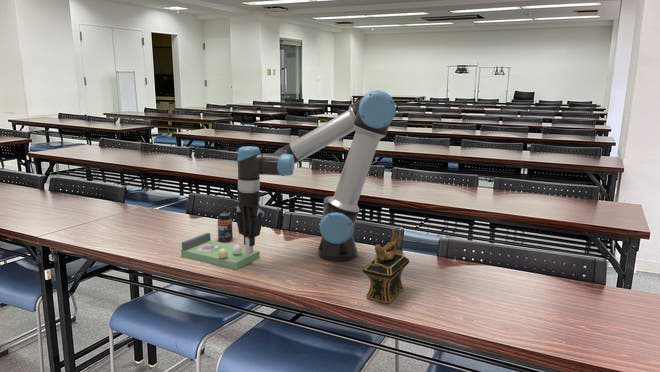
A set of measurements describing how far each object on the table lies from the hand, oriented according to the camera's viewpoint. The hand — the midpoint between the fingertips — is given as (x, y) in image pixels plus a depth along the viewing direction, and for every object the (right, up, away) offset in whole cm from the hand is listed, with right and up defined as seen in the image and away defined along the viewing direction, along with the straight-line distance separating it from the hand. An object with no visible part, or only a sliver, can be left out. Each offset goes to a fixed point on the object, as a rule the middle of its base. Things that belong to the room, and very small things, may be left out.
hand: (249, 253), depth 170 cm
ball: (-5, +1, +3) cm, 6 cm away
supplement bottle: (-15, +2, +26) cm, 30 cm away
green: (-12, -2, +7) cm, 14 cm away
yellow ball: (-9, 0, -1) cm, 9 cm away
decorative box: (+48, -10, -20) cm, 53 cm away
